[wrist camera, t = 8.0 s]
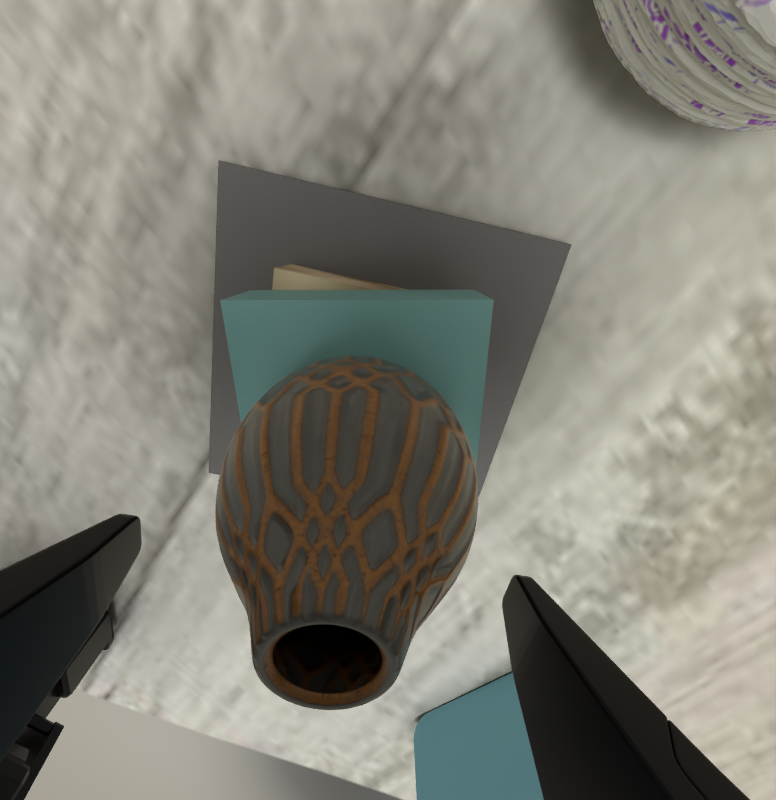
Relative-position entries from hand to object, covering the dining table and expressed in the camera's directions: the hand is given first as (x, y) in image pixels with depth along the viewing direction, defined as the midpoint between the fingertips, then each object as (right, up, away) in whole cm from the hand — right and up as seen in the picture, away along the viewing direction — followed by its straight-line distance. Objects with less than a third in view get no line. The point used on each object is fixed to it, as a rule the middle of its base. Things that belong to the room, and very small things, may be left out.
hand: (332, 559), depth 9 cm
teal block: (0, +4, +8) cm, 9 cm away
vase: (0, +3, +5) cm, 6 cm away
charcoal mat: (0, +5, +11) cm, 12 cm away
